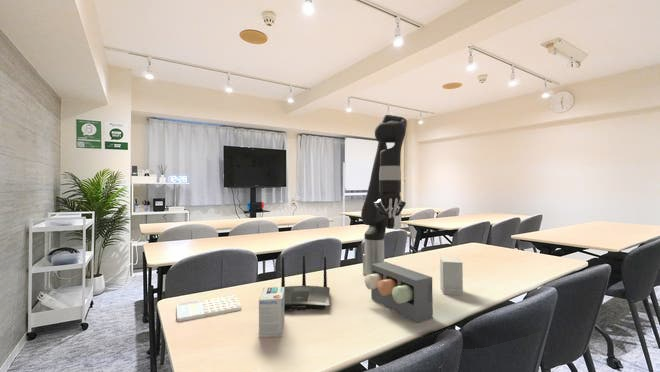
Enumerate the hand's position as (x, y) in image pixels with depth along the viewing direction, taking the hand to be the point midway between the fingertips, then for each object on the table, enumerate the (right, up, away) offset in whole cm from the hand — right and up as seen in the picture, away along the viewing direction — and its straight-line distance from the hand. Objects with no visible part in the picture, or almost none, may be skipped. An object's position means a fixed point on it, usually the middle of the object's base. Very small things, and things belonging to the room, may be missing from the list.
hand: (389, 228), depth 107 cm
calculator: (-63, -28, -1) cm, 69 cm away
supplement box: (+27, -27, +14) cm, 41 cm away
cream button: (-5, -22, +2) cm, 23 cm away
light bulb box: (-38, -28, -17) cm, 50 cm away
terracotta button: (-1, -22, -4) cm, 22 cm away
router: (-32, -28, +5) cm, 43 cm away
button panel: (+3, -27, -2) cm, 28 cm away
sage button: (+2, -22, -11) cm, 24 cm away
